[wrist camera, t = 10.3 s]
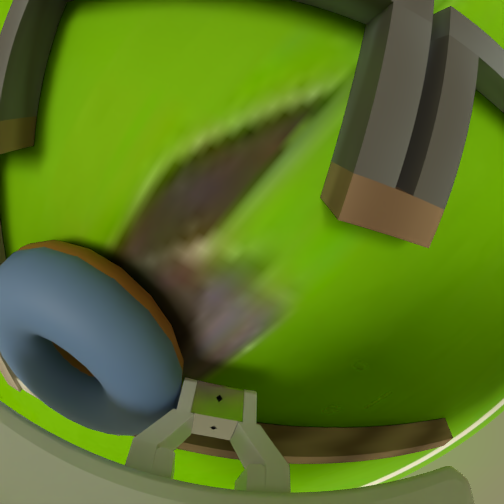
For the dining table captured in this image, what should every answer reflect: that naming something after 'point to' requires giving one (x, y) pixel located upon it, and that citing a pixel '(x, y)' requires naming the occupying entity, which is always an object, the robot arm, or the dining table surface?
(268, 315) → the dining table surface
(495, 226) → the dining table surface
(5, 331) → the doughnut
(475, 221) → the dining table surface
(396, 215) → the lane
